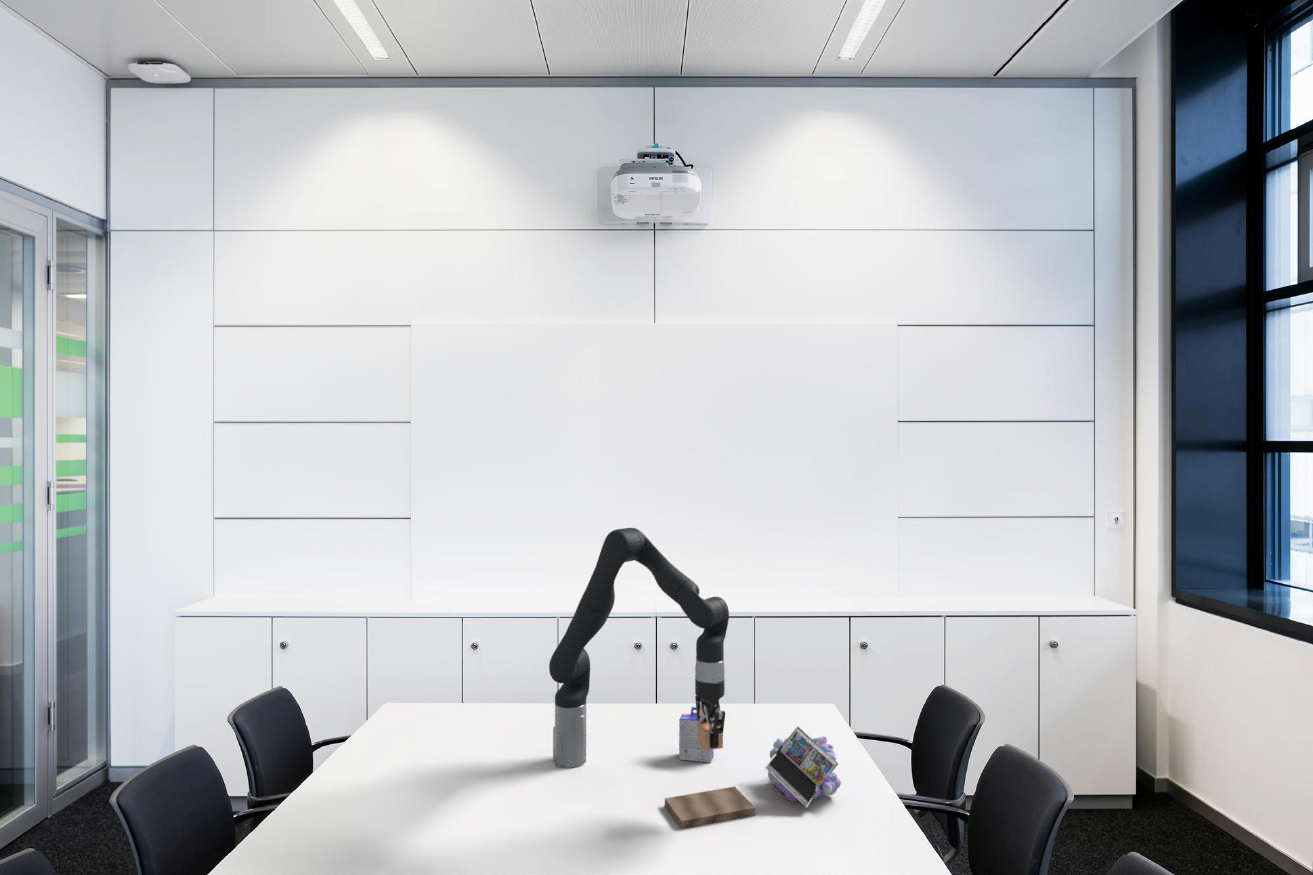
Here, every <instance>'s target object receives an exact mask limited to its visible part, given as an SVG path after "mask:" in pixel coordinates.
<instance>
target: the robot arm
mask: <svg viewBox="0 0 1313 875" xmlns="http://www.w3.org/2000/svg"><path fill="white" fill-rule="evenodd" d="M633 561H636V562H637V563H639V564H641V565H642V566H644V567H645V568H646V569H647V570H648V571H649V572H650V573H651V574H652V576H653V577H654V580H655V583H656V584H657V586H658V587H659V588H660V589H661V591H662V592H663V593H664V594H665V595H667V596H668V598H670V599H671V600H673V601H674V602H675V603H676V604H677V605H679V607H680V608H681V610H682V611H683V613H684V614H685V615H686V617H687V618H688V619H689V620H690V621H691V623H692V624H694V625H695V626H696V627H698V628H700V629H703V631H702V633H701V634H700V635H699V636H698V638H697V639H696V643H695V644H696V645H695V646H696V647H695V649H696V650H695V651H696V652H695V655H696V656H695V668H694V670H695V672H694V673H695V674H694V677H695V678H694V694H695V696H694V698H695V707H696V710H695V712H696V713H697V719H700V723H705V722H707V724H709V730H710V747H711V748H717V747H718V746H719V733H723V734H724V728H725V720H726V711H725V710H721V706H720V700H721V698H723V697H724V696H725V694H726V693H725V691H726V690H725V686H726V685H725V682H726V681H725V680H726V678H725V673H726V672H725V668H726V667H725V661H724V659H725V658H724V656H725V655H724V653H725V652H724V650H725V649H724V648H725V646H724V643H725V638H726V635H727V630H728V625H729V622H730V621H729V619H730V611H729V607H728V604H727V602H726V601H725V600H724V598H722V597H719V596H711V597H708V598H705V599H704V598H703V597H701V596H700V588H699V586H698V584H696V583H695V582H694V581H693V580H692V579H690V577H688V576H687V575H685V574H684V572H682V571H681V570H680V569H678V568H677V567H676V566H675V565H674V564H672V563H671V562H670V561H669V560H668V559H667V558H666V557H665V556H664V554H662V553H661V552H660V550H659V549H658V548H657V547H656V546H655V545H654V544H653V542H652V541H651V540H650V539H649V538H648V537H647V536H646V534H644V532H642V531H641V530H639V529H638V528H635V527H626V528H618V529H614V530H612V531H610V532H609V533H608V534H607V535H606V537H605V539H604V541H603V543H602V546H601V549H600V552H599V556H598V559H597V562H596V565H595V567H594V569H593V572H592V574H591V576H590V579H589V581H588V582H587V583H588V584H587V585H586V587H585V590H584V592H583V593H582V595H581V598H580V601H579V602H578V604H577V607H576V610H575V612H574V614H573V617H572V618H571V620H570V622H569V624H568V627H567V629H566V631H565V633H564V635H563V637H562V639H561V640H560V642H559V643H558V645H557V646H556V648H555V650H554V652H553V653H552V655H551V658H550V659H549V665H548V669H549V670H548V671H549V675H550V677H551V679H552V680H553V681H554V682H555V683H559V684H562V685H561V687H560V688H559V689H558V690H557V691H556V692H555V695H554V727H553V728H552V760H553V762H554V763H555V765H556V767H557V768H576V767H577V768H578V767H580V766H583V765H584V764H585V763H586V761H587V698H588V695H589V692H590V684H591V682H590V679H591V661H590V660H591V659H590V655H589V653H588V651H587V650H586V649H585V647H586V646H587V644H588V643H589V642H590V641H591V640H592V639H593V638H594V637H595V636H596V635H597V634H598V633H599V632H600V630H601V629H603V628H602V627H604V625H605V624H606V622H607V620H608V618H609V617H610V614H611V612H612V610H613V608H614V604H615V600H616V596H615V594H616V593H615V581H616V578H617V576H618V574H619V571H620V570H621V568H622V566H624V564H625V563H629V562H633ZM711 718H714V720H710V719H711ZM712 724H713V726H712Z"/></svg>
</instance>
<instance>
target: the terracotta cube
mask: <svg viewBox="0 0 1313 875" xmlns="http://www.w3.org/2000/svg"><path fill="white" fill-rule="evenodd" d="M712 726H713V724H712ZM697 743H698V744H699V745H700V746H701V748H702V749H703V750H704V751H706V750H713V749H714V750H718V749H723V748H724V747H723V746H724V732H723V733H719V746H718V747H717V748H711V747H710V730H709V724H707V722H705V723H698V724H697Z"/></svg>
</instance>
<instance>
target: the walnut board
mask: <svg viewBox="0 0 1313 875" xmlns="http://www.w3.org/2000/svg"><path fill="white" fill-rule="evenodd" d="M664 807H665V809H666V810H667V811H668V813H669V814H670V816H671V817H672V818H673V819H674V821H675V822H676V824H677V825H678V826H679V828H680V829H681V830H684V829H691V828H695V827H701V826H706V825H707V826H708V825H711V824H717V823H722V822H727V821H734V820H738V819H745V818H750V817H755V816H756V807H755V806H754V805H753V804H752V803H751V801H749V800H748V799H747V797H746V796H745V795H744V794H743V793H742V792H741V791H740V790H739V789H738V788H737V787H736V786H728V787H723V788H719V789H718V788H717V789H712V790H706V791H700V792H694V793H688V794H684V795H676V796H670V797H667V798H666V797H665V798H664Z"/></svg>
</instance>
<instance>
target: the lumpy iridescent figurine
mask: <svg viewBox="0 0 1313 875" xmlns="http://www.w3.org/2000/svg"><path fill="white" fill-rule="evenodd" d="M827 742H828V739H827V736H824V735H823V736H819V737H814V738H811V737H810V736H809V735H808V734H807V733H806V732H805V731H804V730H803V729H801V727H800V726H797V727H796V728H795V729H794V730H793V731H792V732H791V734H790V735H789V736H788V737H787V738H785V739H784V741H783V739H781V738H777V739H776V741H774V742H773V748H772V749H771V750H770V751H769V757H770V759H769V761H768V762H767V763H766V764H765V766H764V768H765V770H766V771H767V777H768V780H769V781H770V783H772V785H774V786H776V787H777V789H778V790H779V791H780V792H782V793H784V796H785V798H786V800H788V801H789V802H796V801H798V802H800V803H801V804H802V806H804V807H805V808H807V807H808V806H809V805H810V804H811V802H812V800H814V799H817V798H818V797H819V796H822V795H826V796H832V795H835V793H837V790H838V789H839V788H840V786H841V784H842V781H841V779H840V778H839V777H838V775H837V773H836V772H834V770H835V769H836V768H837V767H838V766H839V762H838V761H837V756H836V752H835V751H834V746H833V745H832V744H831V743H827Z"/></svg>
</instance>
